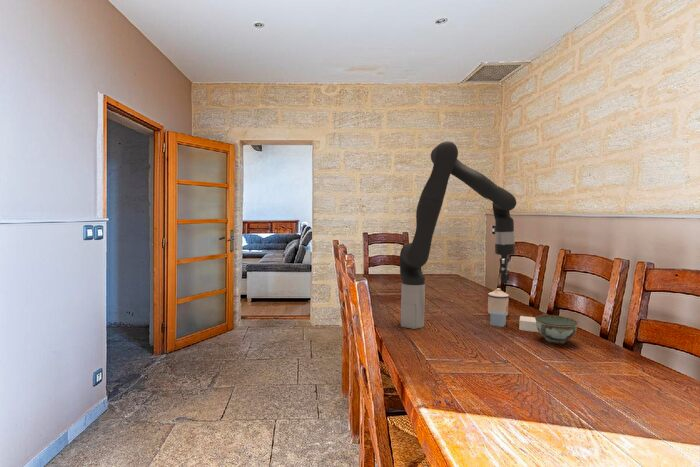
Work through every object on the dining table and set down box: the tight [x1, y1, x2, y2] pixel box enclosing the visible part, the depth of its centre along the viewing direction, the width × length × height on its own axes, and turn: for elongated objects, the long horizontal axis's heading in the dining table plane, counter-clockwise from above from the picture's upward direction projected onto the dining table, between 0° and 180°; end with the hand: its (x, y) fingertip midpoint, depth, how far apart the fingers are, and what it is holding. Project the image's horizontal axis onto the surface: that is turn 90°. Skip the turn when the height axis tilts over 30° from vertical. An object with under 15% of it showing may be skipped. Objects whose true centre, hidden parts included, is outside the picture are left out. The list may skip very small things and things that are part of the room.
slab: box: [518, 315, 539, 333], centre depth 153 cm, size 8×8×4 cm
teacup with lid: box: [487, 287, 510, 317], centre depth 176 cm, size 12×9×12 cm
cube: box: [489, 311, 507, 328], centre depth 158 cm, size 5×5×5 cm
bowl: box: [534, 314, 578, 345], centre depth 137 cm, size 14×13×8 cm
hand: (505, 281), depth 158 cm, fingers open, 8 cm apart
